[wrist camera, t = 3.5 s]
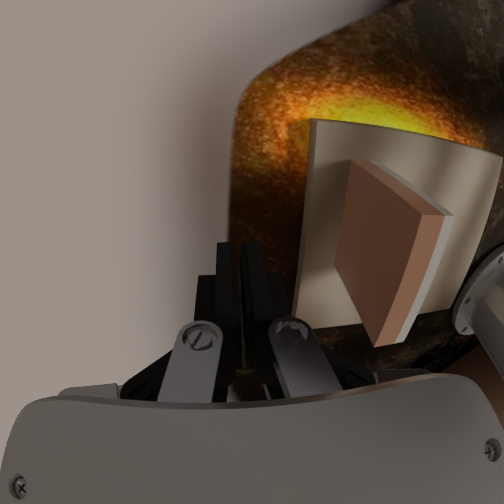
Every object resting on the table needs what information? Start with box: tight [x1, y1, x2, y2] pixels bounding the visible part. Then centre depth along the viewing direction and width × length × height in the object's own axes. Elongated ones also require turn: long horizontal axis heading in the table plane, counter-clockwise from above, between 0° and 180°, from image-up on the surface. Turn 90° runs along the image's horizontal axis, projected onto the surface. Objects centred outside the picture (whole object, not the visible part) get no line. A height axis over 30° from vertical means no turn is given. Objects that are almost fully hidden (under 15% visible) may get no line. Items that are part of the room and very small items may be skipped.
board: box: [291, 118, 503, 329], centre depth 19 cm, size 16×15×1 cm
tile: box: [334, 160, 455, 347], centre depth 14 cm, size 2×7×7 cm, turn 179°
